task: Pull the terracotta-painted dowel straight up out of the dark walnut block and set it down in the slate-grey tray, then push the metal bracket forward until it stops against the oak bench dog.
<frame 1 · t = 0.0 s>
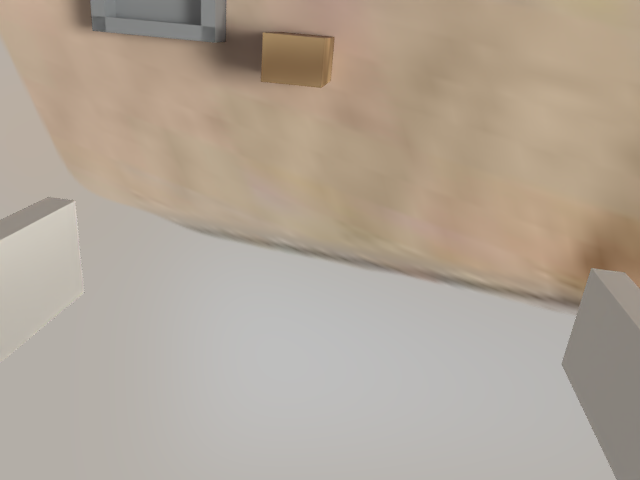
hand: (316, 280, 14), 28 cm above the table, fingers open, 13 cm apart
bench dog: (305, 56, 38), on the table
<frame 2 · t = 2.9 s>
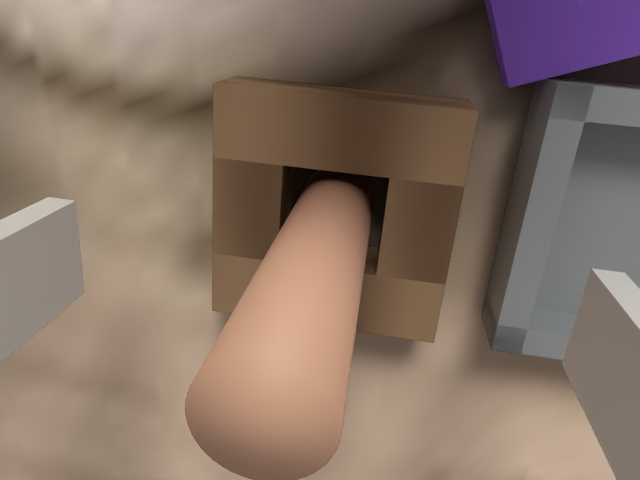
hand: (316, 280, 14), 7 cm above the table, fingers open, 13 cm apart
dowel: (315, 266, 14), in the dowel block
dowel block: (338, 198, 20), on the table
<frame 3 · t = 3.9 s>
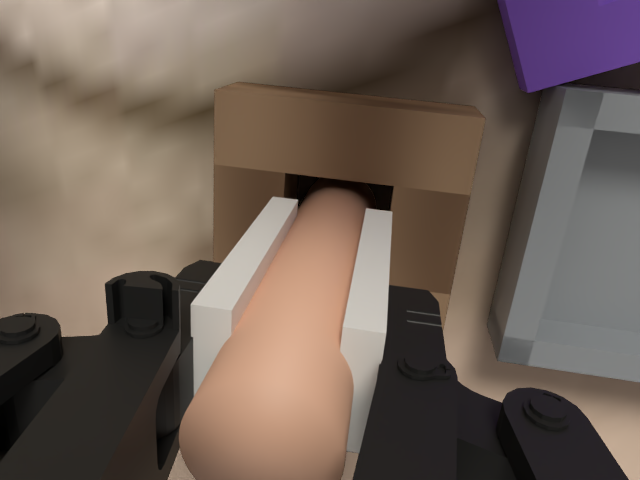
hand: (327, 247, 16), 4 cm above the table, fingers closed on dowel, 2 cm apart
dowel: (316, 280, 14), in the dowel block, touching gripper
dowel block: (341, 206, 19), on the table
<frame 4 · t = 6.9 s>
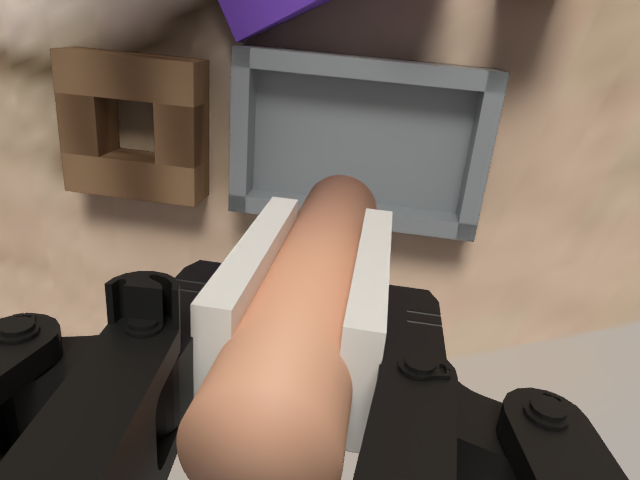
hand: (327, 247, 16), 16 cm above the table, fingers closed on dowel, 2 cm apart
dowel: (316, 283, 14), point 18 cm above the table, touching gripper
tray: (360, 138, 30), on the table
dowel block: (144, 123, 32), on the table
when the fingers open (6 cm above the table, at t = 8.8 s): dowel drops 1 cm, resting on tray.
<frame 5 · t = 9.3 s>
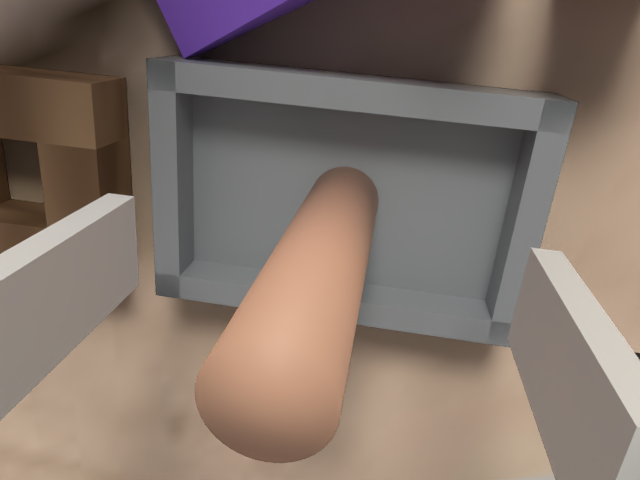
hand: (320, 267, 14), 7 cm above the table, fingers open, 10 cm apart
dowel: (320, 263, 15), in the tray, point 7 cm above the table
tray: (346, 191, 21), on the table
dowel block: (41, 165, 22), on the table
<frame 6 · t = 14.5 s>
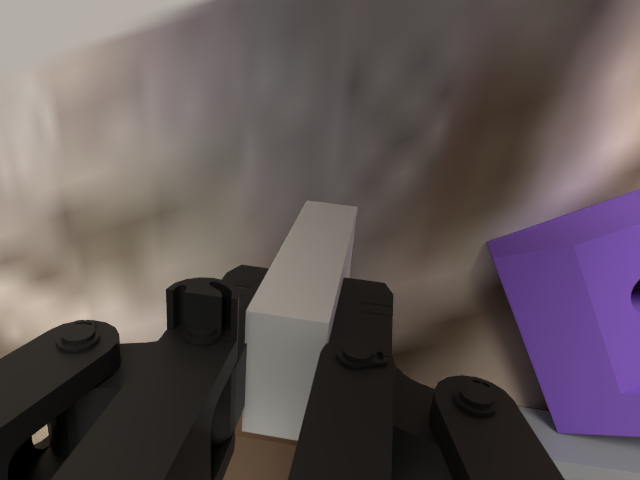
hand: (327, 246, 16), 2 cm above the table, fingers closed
dowel block: (303, 477, 21), on the table
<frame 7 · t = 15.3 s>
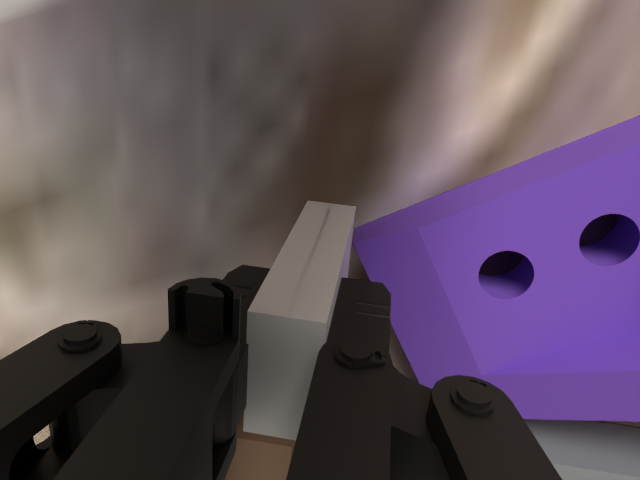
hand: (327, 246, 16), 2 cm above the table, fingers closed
bracket: (572, 248, 17), on the table, touching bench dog, gripper
dowel block: (201, 461, 22), on the table
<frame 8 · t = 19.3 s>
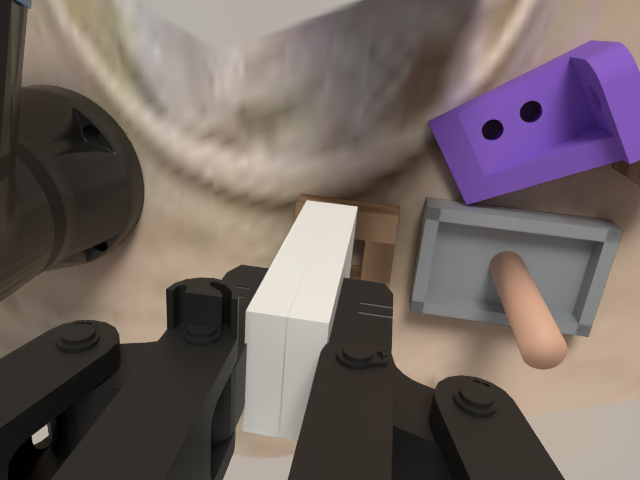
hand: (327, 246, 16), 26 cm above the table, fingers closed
dowel: (522, 301, 37), in the tray, point 7 cm above the table
tray: (504, 260, 43), on the table
bracket: (522, 124, 39), on the table
dowel block: (344, 245, 44), on the table
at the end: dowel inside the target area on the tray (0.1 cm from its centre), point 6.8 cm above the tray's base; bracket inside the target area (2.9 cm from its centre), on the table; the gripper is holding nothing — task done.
